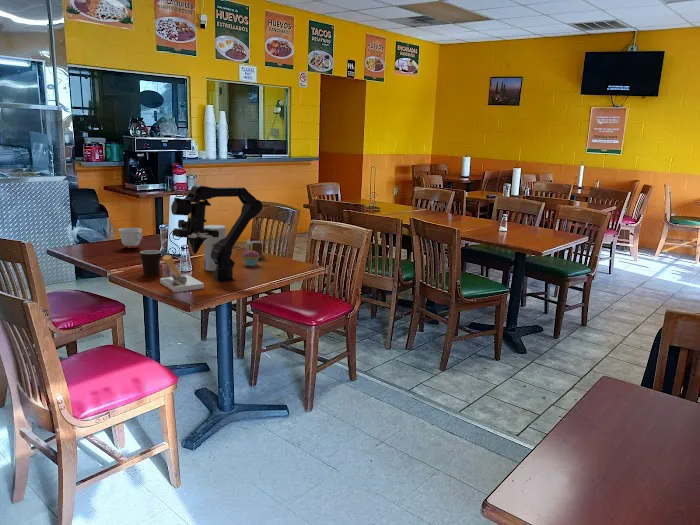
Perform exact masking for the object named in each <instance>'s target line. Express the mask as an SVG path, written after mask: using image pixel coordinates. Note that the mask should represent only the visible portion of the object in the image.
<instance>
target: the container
mask: <svg viewBox="0 0 700 525" xmlns="http://www.w3.org/2000/svg"><path fill="white" fill-rule="evenodd" d="M204 229H214V230H218V232H219V237H212V236H211V235H205V238H207V239H205V241H204V242H203V269H204V270H205V271H209V272H215V269H216V266H218V265H216V264H215V262H214V261H213V260H212V259H211V255H210V254H211V252H212V251H211V250H212V249H213V248H214V246H215V244H216V243H219V244H220V243H222V242H223V241H224V239H225V238H226V236H227V226H226V225H220V224H209V225H208V224H207V225H204Z"/></svg>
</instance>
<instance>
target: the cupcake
mask: <svg viewBox="0 0 700 525" xmlns="http://www.w3.org/2000/svg"><path fill="white" fill-rule="evenodd" d="M241 258H242V259H243V260H244V262H245V265H246V266H247V267H255V266H257V263H258V261H259V259H261V258H260V255H259V253H258V252H256V251H252V243H251V251H250V250H249V251H247V250H245V252H243V253H242V255H241Z"/></svg>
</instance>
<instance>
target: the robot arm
mask: <svg viewBox="0 0 700 525" xmlns="http://www.w3.org/2000/svg"><path fill="white" fill-rule="evenodd" d="M190 188H191V189H190V191H189V192H188V193H187V195H186V196H185V197H184V198H180V197H174V198H173V201H172V202H171V203H172V204H171V207H170V210H171V211H170V212H171V214H172V215H173V216H188V218H187V221H185V220H184V219H178V221H177V226H178V227H177V228H174V229H172V232H171V233H172V236H174V237H178V238H187V240H188V241H189V243H190V247H191V251H192V254H194V255H196V254H197V253H198V252H199V250H200V248H201V246H202V245H203V244H204V241H205V239H207V238H205V235H211V236H212V237H219V232H218V230H214V229H204V226H205V223H207V219H206V209H207V207H211V206H212V204H211V203H210V202H209V201H208V200H211V199H214V198H226V197H228V198H231V197H232V198H233V197H234V198H235V197H238V199H239V201H240V203H242V206H241V212H240V215H239V216H238V218H237V220H236V221H235V222H234V224H233V226H232V227H231V229H230V230H229V232H228V233H227V234H226V238H225V239H224V241H223V242H222V243H220V244H219V243H216V244H215V246H214V248H213V249H212V250H211V251H212V252H211V254H210V255H211V259H212V260H213V261H214V262H215V264H216V265H218V266H216V269H215V271H214V280H216V281H218V282H220V283H223V282H230V281H235V278H234V277H233V271H234V270H233V268H234V266H235V263H236V262H235V261H234V260H233V259H232V258H231V256H232V253H233V247H234V246H235V244H237V243H236V242H238V240H239V238H240V236H241V235H242V233H243V232H244V231H245V229H246V228H247V227H248V224H249V223H250V221H251V220H252V219H254V218H255V217H257V216H258V214H260V213H261V212H262V210H263V203H262V201H261V200H259V199H257V198H256V196H254V195H253V194H252V193H250V192H249V190H247V189H246V188H245V187H242V186H236V187H235V186H234V187H233V186H232V187H231V186H230V187H211V186H208V185H207V186H206V185H200V184H194V185H193V186H192V187H190ZM189 215H190V216H189Z"/></svg>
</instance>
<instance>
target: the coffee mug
mask: <svg viewBox="0 0 700 525" xmlns="http://www.w3.org/2000/svg"><path fill="white" fill-rule="evenodd" d="M139 255H140V261H141V267H142V271H143V276H145V275H149V276H148V277H154V276H153V275H156V276H158V274H159V275H160V269H161V268H160V267H161V260H162V258H161V257H162V251H161V250H159V249H157V250H156V249H148V250H141V251H139Z"/></svg>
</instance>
